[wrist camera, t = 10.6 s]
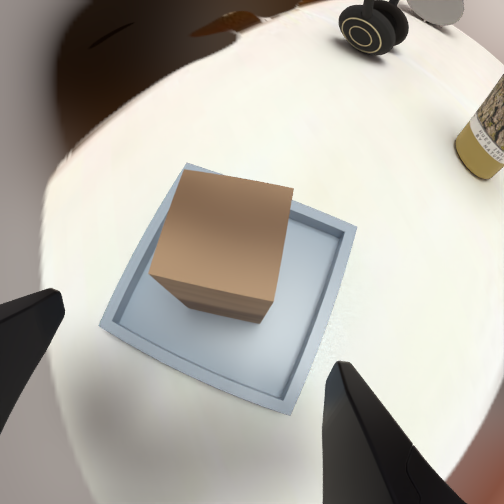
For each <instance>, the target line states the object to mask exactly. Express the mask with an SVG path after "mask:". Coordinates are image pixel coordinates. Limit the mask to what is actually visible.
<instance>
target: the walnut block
mask: <svg viewBox="0 0 504 504" xmlns="http://www.w3.org/2000/svg"><path fill="white" fill-rule="evenodd" d="M293 190H294V188H289V187H284V186H279V185H274V184H269V183H264V182H259V181H253V180H248V179H242V178H237V177H231V176H225V175H219V174H213V173H207V172H200V171H193V170H186V169H184V171H183V173H182V176H181V178H180V181H179V183H178V186H177V189H176V191H175V194H174V197H173V200H172V202H171V205H170V208H169V211H168V214H167V216H166V219H165V222H164V225H163V228H162V231H161V234H160V237H159V240H158V243H157V246H156V250H155V253H154V256H153V259H152V262H151V266H150V269H149V272H148V274H149V275H150V276H151V277H153V278H154V279H155V280H156V281H157V282H158V283H159V284H160V285H162V286H163V287H164V288H165V289H166V290H167V291H169V292H170V293H171V294H172V295H173V296H174V297H176V298H177V299H178V300H179V301H180V302H182V303H183V304H184V305H185V306H186V307H188V308H190V309H194V310H198V311H202V312H206V313H211V314H215V315H220V316H224V317H229V318H233V319H238V320H243V321H247V322H252V323H257V324H260V323H261V321H262V320H263V318H264V317H265V315H266V313H267V312H268V310H269V309H270V307H271V305H272V304H273V302H274V298H275V293H276V287H277V282H278V277H279V271H280V266H281V260H282V255H283V249H284V243H285V238H286V232H287V226H288V220H289V214H290V208H291V202H292V196H293Z"/></svg>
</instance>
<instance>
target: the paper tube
mask: <svg viewBox="0 0 504 504" xmlns="http://www.w3.org/2000/svg"><path fill="white" fill-rule="evenodd" d="M456 149H457V152H458V154H459V156H460V158H461V160H462V161H463V163H464V164H465V165H466V167H467V168H468V169H469V170H470V171H471V172H472V173H474V174H475V175H476V176H478V177H480V178H482V179H490V178H492V177H493V176H494V175H495V174H496V173H497V172H498V171H499V170H500V169H501V168H503V167H504V74H503V75H502V77H501V78H500V80H499V81H498V83H497V84H496V85H495V87H494V88H493V90H492V91H491V93H490V94H489V95H488V97H487V98H486V99H485V101H484V102H483V103H482V105H481V106H480V107H479V109H478V110H477V111H476V113H475V114H474V115H473V117H472V118H471V119H470V121H469V122H468V124H467V125H466V126H465V127H464V129H463V130H462V131H461V132H460V134H459V135H458V136H457V138H456Z"/></svg>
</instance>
